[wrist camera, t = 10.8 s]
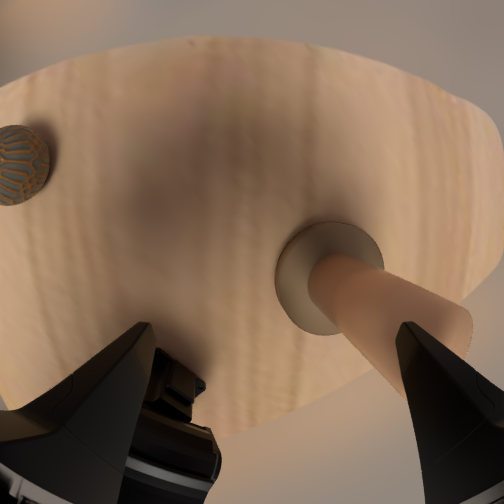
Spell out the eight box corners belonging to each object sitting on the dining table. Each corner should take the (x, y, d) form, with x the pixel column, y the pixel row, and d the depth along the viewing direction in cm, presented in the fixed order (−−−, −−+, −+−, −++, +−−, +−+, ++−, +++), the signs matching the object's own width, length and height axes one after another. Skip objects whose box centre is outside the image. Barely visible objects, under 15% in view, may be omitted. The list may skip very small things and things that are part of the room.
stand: (318, 344, 26) (326, 354, 24) (251, 277, 24) (254, 284, 22) (388, 275, 26) (400, 280, 24) (334, 198, 23) (344, 198, 21)
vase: (56, 204, 20) (-5, 209, 11) (8, 203, 19) (-50, 209, 10) (65, 130, 19) (10, 106, 10) (16, 136, 18) (-39, 122, 9)
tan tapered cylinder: (333, 321, 23) (420, 412, 11) (295, 286, 22) (380, 378, 10) (371, 278, 23) (480, 339, 11) (337, 239, 22) (456, 284, 9)
